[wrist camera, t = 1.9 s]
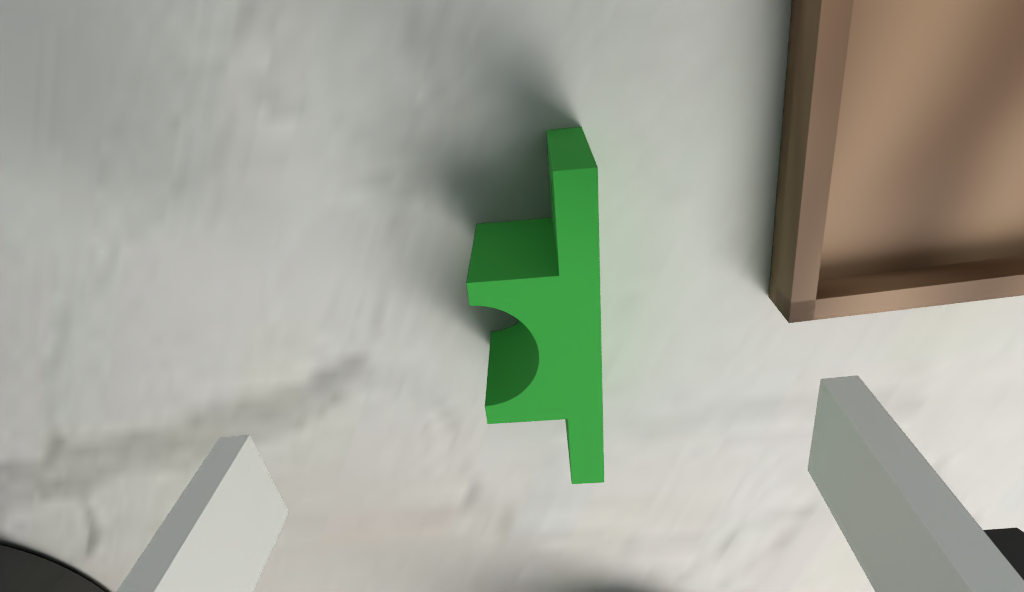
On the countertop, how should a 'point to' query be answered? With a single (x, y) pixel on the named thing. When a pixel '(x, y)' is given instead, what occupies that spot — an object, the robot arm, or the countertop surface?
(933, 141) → the tray
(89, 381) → the countertop surface
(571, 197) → the pipe clamp
